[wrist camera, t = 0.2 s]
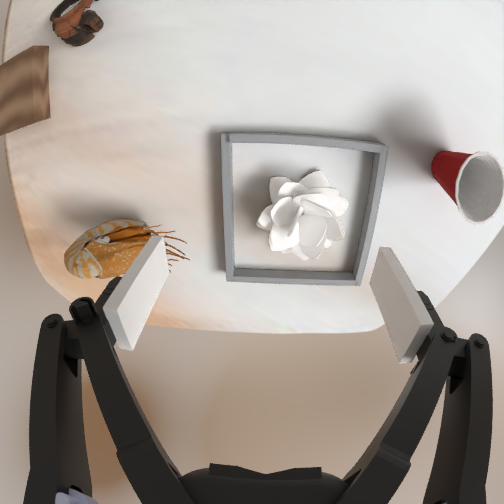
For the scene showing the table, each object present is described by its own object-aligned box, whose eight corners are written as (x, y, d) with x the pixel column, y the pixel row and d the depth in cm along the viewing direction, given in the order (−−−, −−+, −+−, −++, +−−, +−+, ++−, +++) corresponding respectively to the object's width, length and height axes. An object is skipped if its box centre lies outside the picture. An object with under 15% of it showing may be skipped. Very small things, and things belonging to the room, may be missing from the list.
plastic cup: (470, 142, 36) (513, 162, 25) (459, 198, 41) (496, 227, 31) (424, 129, 36) (465, 144, 26) (414, 190, 42) (448, 220, 31)
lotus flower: (317, 148, 40) (328, 162, 33) (359, 224, 46) (374, 251, 39) (239, 195, 45) (233, 218, 38) (288, 262, 51) (290, 293, 44)
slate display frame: (223, 132, 40) (221, 134, 38) (382, 143, 38) (388, 146, 36) (228, 273, 53) (226, 281, 51) (357, 277, 52) (360, 285, 50)
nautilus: (198, 252, 51) (175, 308, 38) (98, 243, 52) (58, 288, 39) (197, 212, 47) (169, 261, 34) (91, 207, 47) (44, 247, 35)
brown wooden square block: (6, 70, 31) (-10, 72, 27) (50, 46, 30) (33, 45, 26) (9, 132, 39) (-7, 138, 35) (51, 117, 38) (34, 122, 34)
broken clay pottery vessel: (60, 47, 31) (36, 26, 23) (93, 10, 30) (74, -14, 22) (96, 55, 30) (71, 28, 22) (134, 14, 30) (115, -16, 22)
